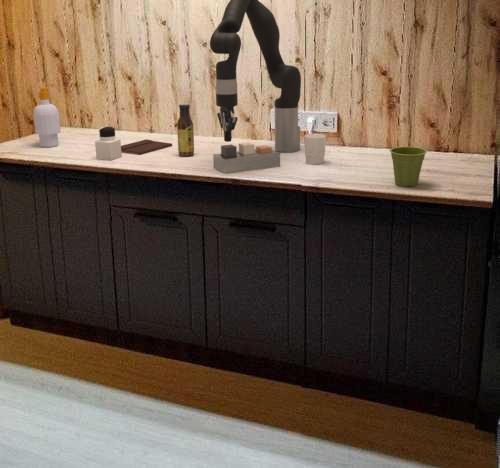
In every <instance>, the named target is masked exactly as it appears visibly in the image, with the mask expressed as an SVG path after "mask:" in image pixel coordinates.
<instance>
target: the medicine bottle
mask: <svg viewBox="0 0 500 468" xmlns="http://www.w3.org/2000/svg"><path fill="white" fill-rule="evenodd" d="M98 134H99V135H98V137H99V139H97V140H95V142H94V143H95V145H94V146H95V156H96V159H97V160H103V161H113V160H116V159H119V158H122V154H123V153H122V152H121V146H122V144H121V143H122V142H121V139H120V138H116V128H115V127H113V126H102V127H100V128H99V129H98Z"/></svg>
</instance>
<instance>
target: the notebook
mask: <svg viewBox="0 0 500 468" xmlns="http://www.w3.org/2000/svg"><path fill="white" fill-rule="evenodd" d="M171 147H173V143H171V142H164V141H156V140H152V139H147V138H146V139H142V140H138V141H134V142H131V143H127V144H123V145H122V144H121V154H123V153H124V154H128V155H130V154H131V155H137V156H141V155H145V154H150V153H153V152H155V151H161V150H164V149H167V148H171Z"/></svg>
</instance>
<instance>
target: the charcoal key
mask: <svg viewBox="0 0 500 468" xmlns="http://www.w3.org/2000/svg"><path fill="white" fill-rule="evenodd" d="M237 151H238V150H237V146H236V145H235V144H234V145H233V144H225V145H224V144H223V145H220V154H221V155H222V156H224V157H234V156H237Z"/></svg>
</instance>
